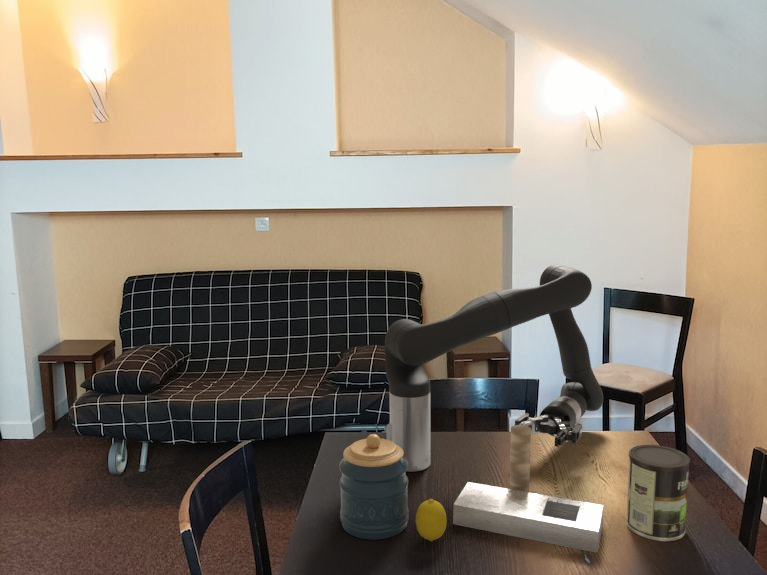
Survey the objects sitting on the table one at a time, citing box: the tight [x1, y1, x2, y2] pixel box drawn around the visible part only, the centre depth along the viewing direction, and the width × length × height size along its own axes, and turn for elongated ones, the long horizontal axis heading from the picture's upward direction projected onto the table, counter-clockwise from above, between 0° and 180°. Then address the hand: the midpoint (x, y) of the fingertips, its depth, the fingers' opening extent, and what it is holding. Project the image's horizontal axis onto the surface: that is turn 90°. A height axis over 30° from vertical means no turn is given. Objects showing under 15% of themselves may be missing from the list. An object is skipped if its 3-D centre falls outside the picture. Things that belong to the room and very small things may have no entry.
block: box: [452, 481, 605, 554], centre depth 122 cm, size 26×10×4 cm, turn 67°
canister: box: [338, 433, 410, 541], centre depth 123 cm, size 13×13×18 cm
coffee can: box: [625, 444, 691, 542], centre depth 120 cm, size 10×10×14 cm
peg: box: [509, 424, 532, 492], centre depth 134 cm, size 4×4×14 cm
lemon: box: [415, 498, 448, 542], centre depth 117 cm, size 6×6×8 cm
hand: (537, 438), depth 142 cm, fingers open, 8 cm apart
